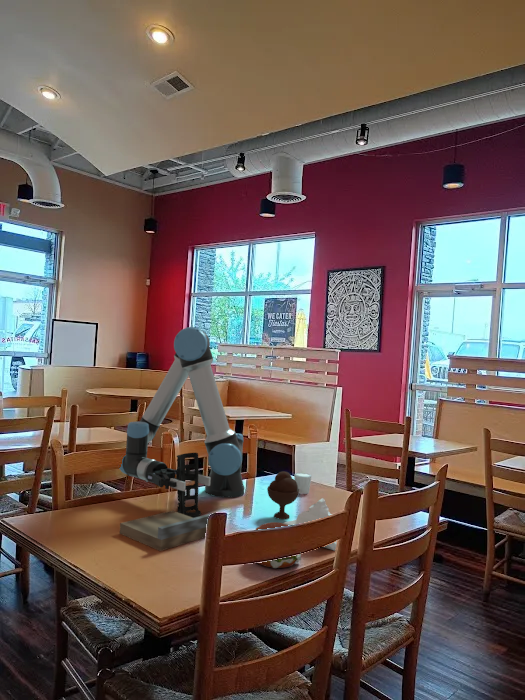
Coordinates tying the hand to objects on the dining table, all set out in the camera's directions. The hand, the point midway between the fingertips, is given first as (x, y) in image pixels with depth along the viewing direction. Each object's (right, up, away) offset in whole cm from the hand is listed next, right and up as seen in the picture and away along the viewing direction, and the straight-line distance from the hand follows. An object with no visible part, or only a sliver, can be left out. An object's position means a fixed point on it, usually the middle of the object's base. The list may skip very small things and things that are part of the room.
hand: (197, 484), depth 179 cm
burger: (+24, -13, -32) cm, 42 cm away
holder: (-4, -11, +3) cm, 12 cm away
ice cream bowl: (+27, -13, +8) cm, 31 cm away
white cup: (+37, -14, +43) cm, 58 cm away
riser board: (-7, -11, -17) cm, 21 cm away
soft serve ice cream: (+36, -14, -16) cm, 42 cm away
